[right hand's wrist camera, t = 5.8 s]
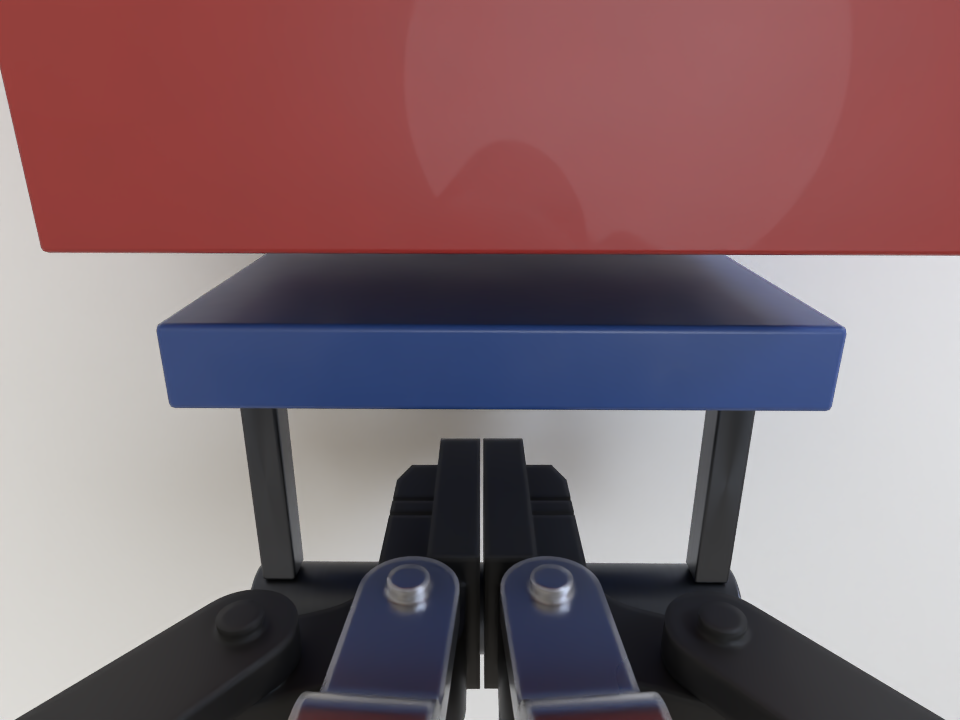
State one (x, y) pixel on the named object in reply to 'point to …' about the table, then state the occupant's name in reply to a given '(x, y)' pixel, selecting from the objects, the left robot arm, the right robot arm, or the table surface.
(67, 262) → the table surface
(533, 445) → the table surface
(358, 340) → the drawer
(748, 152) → the cabinet
